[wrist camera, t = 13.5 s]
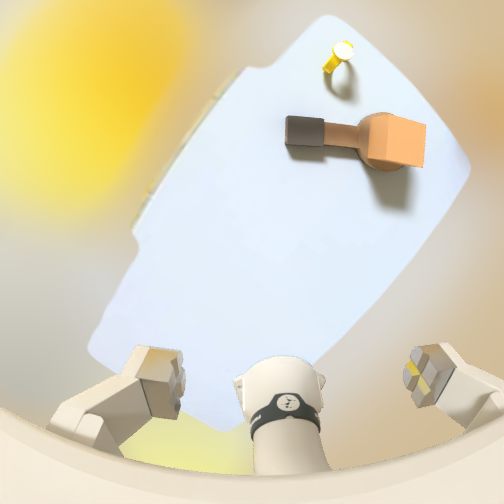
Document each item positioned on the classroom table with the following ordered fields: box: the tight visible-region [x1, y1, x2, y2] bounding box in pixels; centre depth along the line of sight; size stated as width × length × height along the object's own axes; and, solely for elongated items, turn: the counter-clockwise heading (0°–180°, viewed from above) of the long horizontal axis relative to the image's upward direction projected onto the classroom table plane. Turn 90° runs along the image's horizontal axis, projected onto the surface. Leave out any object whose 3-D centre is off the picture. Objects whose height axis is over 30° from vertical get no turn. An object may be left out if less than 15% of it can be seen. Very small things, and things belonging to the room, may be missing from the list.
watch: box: [322, 40, 353, 74], centre depth 31 cm, size 6×3×6 cm, turn 145°
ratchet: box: [285, 112, 404, 171], centre depth 35 cm, size 9×20×6 cm, turn 89°
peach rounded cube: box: [368, 114, 426, 168], centre depth 33 cm, size 6×6×6 cm
